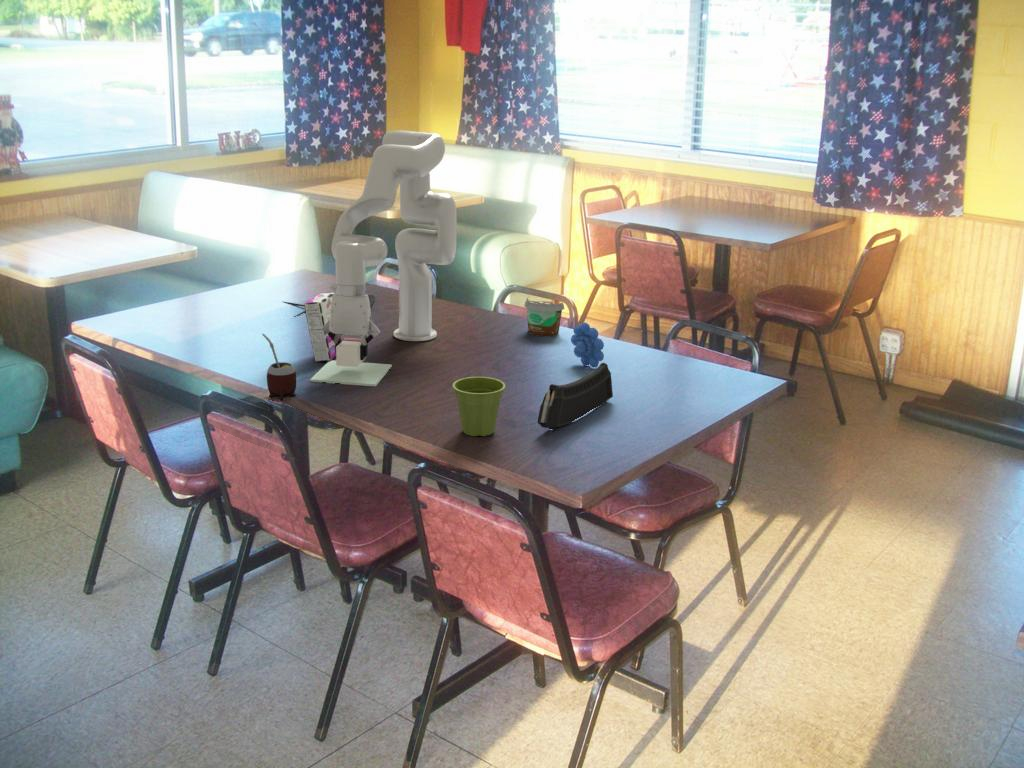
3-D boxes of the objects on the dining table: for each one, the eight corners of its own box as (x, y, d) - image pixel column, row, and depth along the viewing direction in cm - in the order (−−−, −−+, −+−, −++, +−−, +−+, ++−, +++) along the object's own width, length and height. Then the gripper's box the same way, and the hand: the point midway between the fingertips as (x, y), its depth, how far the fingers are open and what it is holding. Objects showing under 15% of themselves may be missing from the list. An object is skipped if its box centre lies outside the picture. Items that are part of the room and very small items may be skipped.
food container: (517, 334, 325) (518, 301, 322) (524, 329, 330) (526, 297, 327) (556, 339, 321) (557, 306, 318) (563, 334, 326) (564, 302, 323)
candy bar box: (328, 350, 303) (318, 293, 298) (344, 349, 302) (335, 292, 297) (313, 362, 292) (303, 302, 288) (330, 361, 291) (320, 301, 287)
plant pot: (461, 419, 254) (462, 374, 251) (510, 426, 251) (512, 380, 247) (444, 437, 243) (444, 389, 240) (494, 444, 240) (496, 396, 237)
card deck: (336, 365, 279) (335, 345, 277) (345, 356, 287) (345, 337, 285) (357, 367, 278) (357, 347, 276) (366, 357, 286) (366, 338, 284)
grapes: (559, 363, 298) (561, 321, 294) (576, 359, 303) (578, 317, 299) (591, 374, 290) (594, 330, 286) (608, 369, 295) (610, 326, 291)
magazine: (608, 362, 270) (549, 355, 245) (619, 365, 269) (561, 358, 243) (594, 430, 272) (534, 429, 246) (606, 432, 270) (547, 433, 244)
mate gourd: (296, 401, 263) (294, 341, 258) (263, 401, 261) (260, 341, 257) (297, 391, 270) (295, 332, 265) (264, 391, 268) (262, 333, 264)
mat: (330, 362, 293) (330, 360, 293) (391, 366, 291) (391, 364, 291) (310, 381, 277) (310, 379, 277) (375, 386, 275) (375, 384, 275)
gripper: (313, 290, 274) (315, 359, 280) (379, 295, 272) (380, 364, 278) (322, 284, 281) (323, 351, 287) (387, 288, 279) (387, 356, 285)
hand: (351, 357), depth 282 cm, fingers closed on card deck, 5 cm apart
